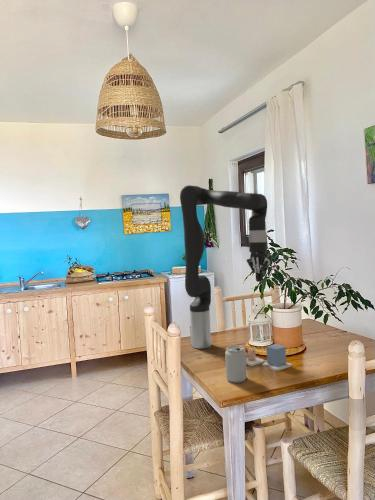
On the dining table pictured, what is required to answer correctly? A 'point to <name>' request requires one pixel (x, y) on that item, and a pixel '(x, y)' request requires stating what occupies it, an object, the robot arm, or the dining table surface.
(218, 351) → the dining table surface
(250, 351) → the short post
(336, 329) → the dining table surface
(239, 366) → the can
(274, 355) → the blue-grey block
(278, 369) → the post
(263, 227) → the robot arm
